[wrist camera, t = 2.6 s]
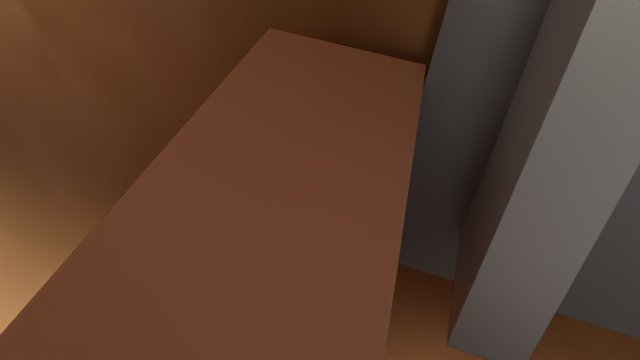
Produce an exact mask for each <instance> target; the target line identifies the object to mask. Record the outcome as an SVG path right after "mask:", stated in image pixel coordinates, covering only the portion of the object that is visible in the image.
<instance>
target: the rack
mask: <svg viewBox="0 0 640 360" xmlns="http://www.w3.org/2000/svg"><path fill="white" fill-rule="evenodd" d="M398 264H401V265H404V266H407V267H410V268H414V269H417V270H420V271H423V272H426V273H430V274H433V275H436V276H439V277H442V278H446V279H449V280H452V281H454V287H453V295H452V304H451V312H450V320H449V329H448V337H447V345H446V346H449V347H452V348H455V349H458V350H461V351H464V352H467V353H470V354H473V355H476V356H479V357H482V358H485V359H488V360H529V359H530V357H531V355H532V353H533V352H534V350H535V348H536V346H537V344H538V343H539V341H540V339H541V337H542V336H543V334H544V332H545V330H546V329H547V327H548V325H549V323H550V321H551V320H552V318H553V316H554V314H555V313H558V314H561V315H564V316H567V317H571V318H574V319H577V320H580V321H584V322H587V323H590V324H593V325H596V326H600V327H603V328H606V329H609V330H612V331H616V332H619V333H622V334H625V335H628V336H632V337H635V338H638V339H640V0H449V1H448V5H447V8H446V11H445V15H444V18H443V22H442V25H441V29H440V32H439V35H438V39H437V42H436V46H435V49H434V53H433V56H432V59H431V63H430V66H429V70H428V73H427V77H426V80H425V83H424V87H423V91H422V98H421V105H420V112H419V119H418V126H417V133H416V141H415V148H414V155H413V162H412V169H411V176H410V183H409V190H408V197H407V204H406V211H405V218H404V225H403V233H402V240H401V247H400V254H399V261H398Z"/></svg>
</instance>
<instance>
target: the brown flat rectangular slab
mask: <svg viewBox="0 0 640 360" xmlns="http://www.w3.org/2000/svg"><path fill="white" fill-rule="evenodd" d="M425 70H426V65H424V64H420V63H416V62H411V61H407V60H403V59H399V58H395V57H390V56H386V55H382V54H378V53H373V52H369V51H365V50H361V49H356V48H352V47H348V46H344V45H339V44H335V43H331V42H327V41H322V40H318V39H314V38H310V37H305V36H301V35H297V34H293V33H289V32H284V31H280V30H276V29H272V28H269V29H268V30H267V31H266V32H265V34H264V35H263V36H262V37H261V38H260V39H259V40H258V42H257V43H256V44H255V45H254V46H253V47H252V48H251V50H250V51H249V52H248V53H247V54H246V55H245V56H244V58H243V59H242V60H241V61H240V62H239V63H238V64H237V66H236V67H235V68H234V69H233V70H232V71H231V72H230V73H229V75H228V76H227V77H226V78H225V79H224V80H223V81H222V83H221V84H220V85H219V86H218V87H217V88H216V89H215V91H214V92H213V93H212V94H211V95H210V96H209V97H208V99H207V100H206V101H205V102H204V103H203V104H202V105H201V107H200V108H199V109H198V110H197V111H196V112H195V113H194V115H193V116H192V117H191V118H190V119H189V120H188V121H187V123H186V124H185V125H184V126H183V127H182V128H181V129H180V131H179V132H178V133H177V134H176V135H175V136H174V137H173V139H172V140H171V141H170V142H169V143H168V144H167V145H166V146H165V148H164V149H163V150H162V151H161V152H160V153H159V154H158V156H157V157H156V158H155V159H154V160H153V161H152V162H151V164H150V165H149V166H148V167H147V168H146V169H145V170H144V172H143V173H142V174H141V175H140V176H139V177H138V178H137V180H136V181H135V182H134V183H133V184H132V185H131V186H130V188H129V189H128V190H127V191H126V192H125V193H124V194H123V196H122V197H121V198H120V199H119V200H118V201H117V202H116V204H115V205H114V206H113V207H112V208H111V209H110V210H109V211H108V213H107V214H106V215H105V216H104V217H103V218H102V219H101V221H100V222H99V223H98V224H97V225H96V226H95V227H94V229H93V230H92V231H91V232H90V233H89V234H88V235H87V237H86V238H85V239H84V240H83V241H82V242H81V243H80V245H79V246H78V247H77V248H76V249H75V250H74V251H73V253H72V254H71V255H70V256H69V257H68V258H67V259H66V261H65V262H64V263H63V264H62V265H61V266H60V267H59V269H58V270H57V271H56V272H55V273H54V274H53V275H52V276H51V278H50V279H49V280H48V281H47V282H46V283H45V284H44V286H43V287H42V288H41V289H40V290H39V291H38V292H37V294H36V295H35V296H34V297H33V298H32V299H31V300H30V302H29V303H28V304H27V305H26V306H25V307H24V308H23V310H22V311H21V312H20V313H19V314H18V315H17V316H16V318H15V319H14V320H13V321H12V322H11V323H10V324H9V326H8V327H7V328H6V329H5V330H4V331H3V332H2V334H1V335H0V360H385V353H386V346H387V339H388V332H389V325H390V317H391V310H392V303H393V296H394V289H395V282H396V275H397V268H398V261H399V254H400V247H401V240H402V233H403V225H404V218H405V211H406V204H407V197H408V190H409V183H410V176H411V169H412V162H413V155H414V148H415V141H416V133H417V126H418V119H419V112H420V105H421V98H422V91H423V84H424V77H425Z"/></svg>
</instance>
